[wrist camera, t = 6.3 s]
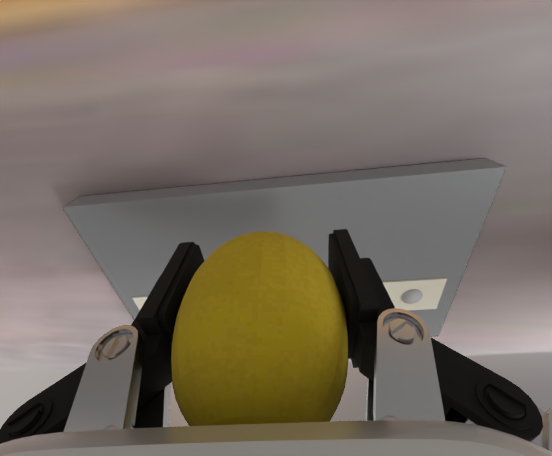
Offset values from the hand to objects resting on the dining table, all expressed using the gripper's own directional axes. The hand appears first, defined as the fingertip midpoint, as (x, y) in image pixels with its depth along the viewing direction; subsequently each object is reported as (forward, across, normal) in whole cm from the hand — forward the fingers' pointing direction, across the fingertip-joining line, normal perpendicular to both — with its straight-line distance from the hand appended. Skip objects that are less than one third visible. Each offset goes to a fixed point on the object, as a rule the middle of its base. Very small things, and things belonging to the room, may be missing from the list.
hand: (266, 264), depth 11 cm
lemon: (+1, 0, 0) cm, 1 cm away
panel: (+5, 0, +5) cm, 7 cm away
